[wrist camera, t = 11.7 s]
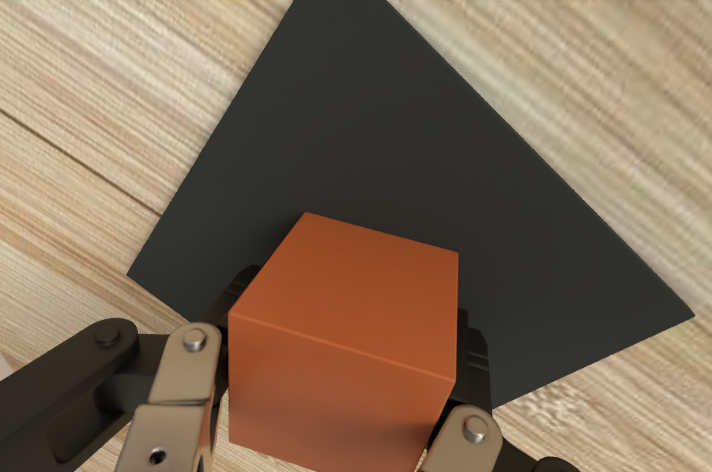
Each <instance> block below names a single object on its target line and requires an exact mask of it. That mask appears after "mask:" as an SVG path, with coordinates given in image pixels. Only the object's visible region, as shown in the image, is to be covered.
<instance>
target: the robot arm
mask: <svg viewBox="0 0 712 472" xmlns="http://www.w3.org/2000/svg"><path fill="white" fill-rule="evenodd" d="M271 256H272V255H270V256H269V258H270V257H271ZM269 258H268V259H267V260H266V262H267V261H268V260H269ZM266 262H265V263H266ZM265 263H264V264H263V265H262V267H263V266H264V265H265ZM262 267H261V266H257V265H254V264H252V265H250V266H249V267H247V268H245V269H243V270H241V271H240V272H239V273H238V274H237V275H236V276H235V278H234V279H233V280H232V282H231V283H230V284H229V285H228V286H227V287H226V288H225V290H224V291H223V292H222V293H221V294H220V295H219V297H218V298H217V299H216V300H215V301H214V303H213V304H212V305H211V306H210V307H209V309H208V310H207V311H206V312H205V313H204V315H203V316H202V317H201V318H200V319H199V320H198V322H192V323H187V324H185V325H182V326H180V327H178V328H177V329H176V330H174V331H173V332H172V333H171V334H168V335H157V334H138V330H137V327H136V325H135V324H134V323H133V322H131V321H129V320H127V319H123V318H109V319H104V320H101V321H98V322H96V323H94V324H92V325H90V326H88V327H87V328H85V329H83V330H82V331H80V332H79V333H77V334H75V335H74V336H72V337H71V338H69V339H67V340H66V341H64V342H63V343H61V344H59V345H58V346H56V347H55V348H53V349H51V350H50V351H48V352H47V353H45V354H43V355H42V356H40V357H39V358H37V359H35V360H34V361H32V362H31V363H29V364H27V365H26V366H24V367H23V368H21V369H19V370H18V371H16V372H15V373H13V374H11V375H10V376H8V377H6V378H5V379H3V380H2V381H0V472H74V471H75V470H76V469H77V468H79V467H80V466H81V465H82V464H83V463H84V462H85V461H86V460H87V459H89V458H90V457H91V456H92V455H93V454H94V453H95V452H96V451H97V450H99V449H100V448H101V447H102V446H103V445H104V444H105V443H106V442H108V441H109V440H110V439H111V438H112V437H113V436H114V435H115V434H116V433H118V432H119V431H120V430H121V429H122V428H123V427H124V426H125V425H126V424H128V423H129V422H130V421H131V420H132V421H131V424H130V427H129V430H128V433H127V436H126V438H125V441H124V444H123V447H122V450H121V452H120V455H119V458H118V461H117V464H116V467H115V469H114V472H212V466H213V458H214V452H215V446H216V439H217V433H218V427H219V421H220V414H221V408H222V401H223V395H224V393H225V392H226V390H227V388H228V312H229V311H230V309H231V308H232V307H233V306H234V304H235V303H236V302H237V300H238V299H239V298H240V296H241V295H242V294H243V292H244V291H245V290H246V288H247V287H248V286H249V284H250V283H251V282H252V281H253V279H254V278H255V277H256V275H257V274H258V273H259V271H260V270H261V269H262ZM425 449H427V455H426V457H425V459H424V460H423V462H422V464H421V466H420V468H419V469H418V471H417V472H580V471H579V470H578V469H577V468H576V467H574V466H573V465H572V464H570V463H569V462H567V461H565V460H563V459H560V458H558V457H550V456H548V457H544V458H542V459H540V460H539V461H536V460H535V459H533V458H531V457H530V456H528V455H527V454H525V453H523V452H522V451H520V450H519V449H517V448H516V447H514V446H513V445H512V444H510V443H509V442H508V441H507V440H506V439H505V438H504V437H503V436H502V433H501V430H500V427H499V425H498V424H497V422H496V421H495V420H494V419H493V416H492V405H491V390H490V375H489V360H488V345H487V342H486V340H485V339H484V337H483V335H482V333H481V331H480V330H477V329H474V328H470V327H468V311H467V310H465V309H462V308H458V307H457V349H456V382H455V384H454V386H453V389H452V391H451V393H450V395H449V397H448V399H447V401H446V404H445V406H444V408H443V410H442V412H441V414H440V417H439V419H438V421H437V423H436V425H435V427H434V429H433V432H432V434H431V436H430V438H429V440H428V442H427V445H426V447H425Z"/></svg>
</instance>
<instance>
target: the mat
mask: <svg viewBox="0 0 712 472" xmlns="http://www.w3.org/2000/svg"><path fill="white" fill-rule="evenodd" d="M304 212H308V213H312V214H316V215H320V216H323V217H327V218H331V219H335V220H338V221H342V222H346V223H350V224H353V225H357V226H361V227H365V228H368V229H372V230H376V231H380V232H383V233H387V234H391V235H395V236H398V237H402V238H406V239H410V240H413V241H417V242H421V243H425V244H429V245H432V246H436V247H440V248H444V249H447V250H451V251H455V252H457V253H458V299H457V307H458V308H462V309H465V310H467V311H468V327H470V328H474V329H477V330H480V331H481V333H482V335H483V337H484V339H485V340H486V342H487V345H488V360H489V375H490V390H491V405H492V409H495V408H497V407H499V406H501V405H503V404H506V403H508V402H510V401H512V400H514V399H516V398H519V397H521V396H523V395H525V394H527V393H530V392H532V391H534V390H536V389H538V388H540V387H543V386H545V385H547V384H549V383H551V382H553V381H556V380H558V379H560V378H562V377H564V376H567V375H569V374H571V373H573V372H575V371H577V370H580V369H582V368H584V367H586V366H588V365H591V364H593V363H595V362H597V361H599V360H601V359H604V358H606V357H608V356H610V355H612V354H615V353H617V352H619V351H621V350H623V349H625V348H628V347H630V346H632V345H634V344H636V343H638V342H641V341H643V340H645V339H647V338H649V337H652V336H654V335H656V334H658V333H660V332H662V331H665V330H667V329H669V328H671V327H673V326H676V325H678V324H680V323H682V322H684V321H686V320H689V319H691V318H693V317H695V314H694V313H693V312H692V310H691V309H690V308H689V307H688V306H687V305H686V304H685V303H684V302H683V300H682V299H681V298H680V297H679V296H678V295H677V294H676V293H675V292H674V291H673V290H672V289H671V288H670V287H669V286H668V285H667V284H666V283H665V282H664V281H663V280H662V279H661V278H660V277H659V276H658V275H657V274H656V273H655V272H654V271H653V270H652V269H651V268H650V267H649V266H648V265H647V264H646V263H645V262H644V261H643V260H642V259H641V258H640V257H639V256H638V255H637V254H636V253H635V252H634V251H633V250H632V249H631V248H630V247H629V246H628V245H627V244H626V243H625V242H624V241H623V240H622V239H621V238H620V237H619V236H618V235H617V234H616V233H615V232H614V231H613V230H612V229H611V227H610V226H609V225H608V224H607V223H606V222H605V221H604V220H603V219H602V218H601V217H600V216H599V215H598V214H597V213H596V212H595V211H594V210H593V209H592V208H591V207H590V206H589V205H588V204H587V203H586V202H585V201H584V200H583V199H582V198H581V197H580V196H579V195H578V194H577V193H576V192H575V191H574V190H573V189H572V188H571V187H570V186H569V185H568V184H567V183H566V182H565V181H564V180H563V179H562V178H561V177H560V176H559V175H558V174H557V173H556V172H555V171H554V170H553V169H552V168H551V167H550V166H549V165H548V164H547V163H546V162H545V161H544V160H543V159H542V158H541V157H540V155H539V154H538V153H537V152H536V151H535V150H534V149H533V148H532V147H531V146H530V145H529V144H528V143H527V142H526V141H525V140H524V139H523V138H522V137H521V136H520V135H519V134H518V133H517V132H516V131H515V130H514V129H513V128H512V127H511V126H510V125H509V124H508V123H507V122H506V121H505V120H504V119H503V118H502V117H501V116H500V115H499V114H498V113H497V112H496V111H495V110H494V109H493V108H492V107H491V106H490V105H489V104H488V103H487V102H486V101H485V100H484V99H483V98H482V97H481V96H480V95H479V94H478V93H477V92H476V91H475V90H474V89H473V88H472V87H471V86H470V85H469V83H468V82H467V81H466V80H465V79H464V78H463V77H462V76H461V75H460V74H459V73H458V72H457V71H456V70H455V69H454V68H453V67H452V66H451V65H450V64H449V63H448V62H447V61H446V60H445V59H444V58H443V57H442V56H441V55H440V54H439V53H438V52H437V51H436V50H435V49H434V48H433V47H432V46H431V45H430V44H429V43H428V42H427V41H426V40H425V39H424V38H423V37H422V36H421V35H420V34H419V33H418V32H417V31H416V30H415V29H414V28H413V27H412V26H411V25H410V24H409V23H408V22H407V21H406V20H405V19H404V18H403V17H402V16H401V15H400V14H399V13H398V11H397V10H396V9H395V8H394V7H393V6H392V5H391V4H390V3H389V2H388V1H387V0H294V1H293V3H292V4H291V6H290V8H289V9H288V11H287V13H286V14H285V16H284V17H283V19H282V21H281V22H280V24H279V26H278V27H277V29H276V30H275V32H274V34H273V35H272V37H271V39H270V40H269V42H268V44H267V45H266V47H265V48H264V50H263V52H262V53H261V55H260V57H259V58H258V60H257V62H256V63H255V65H254V66H253V68H252V70H251V71H250V73H249V75H248V76H247V78H246V80H245V81H244V83H243V84H242V86H241V88H240V89H239V91H238V93H237V94H236V96H235V98H234V99H233V101H232V102H231V104H230V106H229V107H228V109H227V111H226V112H225V114H224V116H223V117H222V119H221V120H220V122H219V124H218V125H217V127H216V129H215V130H214V132H213V133H212V135H211V137H210V138H209V140H208V142H207V143H206V145H205V147H204V148H203V150H202V151H201V153H200V155H199V156H198V158H197V160H196V161H195V163H194V165H193V166H192V168H191V169H190V171H189V173H188V174H187V176H186V178H185V179H184V181H183V183H182V184H181V186H180V187H179V189H178V191H177V192H176V194H175V196H174V197H173V199H172V201H171V202H170V204H169V205H168V207H167V209H166V210H165V212H164V214H163V215H162V217H161V218H160V220H159V222H158V223H157V225H156V227H155V228H154V230H153V232H152V233H151V235H150V236H149V238H148V240H147V241H146V243H145V245H144V246H143V248H142V250H141V251H140V253H139V254H138V256H137V258H136V259H135V261H134V263H133V264H132V266H131V268H130V269H129V271H128V272H127V274H126V275H127V276H128V277H130V278H131V279H132V280H134V281H135V282H136V283H138V284H139V285H140V286H142V287H143V288H144V289H146V290H147V291H148V292H150V293H151V294H153V295H154V296H155V297H157V298H158V299H159V300H161V301H162V302H163V303H165V304H166V305H167V306H169V307H170V308H171V309H173V310H174V311H176V312H177V313H178V314H180V315H181V316H182V317H184V318H185V319H186V320H188V321H189V322H190V323H192V322H198V320H199V319H200V318H201V317H202V316H203V315H204V313H205V312H206V311H207V310H208V309H209V307H210V306H211V305H212V304H213V303H214V301H215V300H216V299H217V298H218V297H219V295H220V294H221V293H222V292H223V291H224V290H225V288H226V287H227V286H228V285H229V284H230V283H231V282H232V280H233V279H234V278H235V276H236V275H237V274H238V273H239V272H240V271H241V270H243V269H245V268H247V267H249V266H250V265H252V264H254V265H257V266H261V267H262V265H263V264H264V263H265V262H266V260H267V259H268V258H269V256H270V255H272V254H273V253H274V252H275V250H276V249H277V248H278V246H279V245H280V244H281V242H282V241H283V240H284V239H285V237H286V236H287V235H288V233H289V232H290V231H291V229H292V228H293V227H294V225H295V224H296V223H297V221H298V220H299V219H300V218H301V216H302V215H303V214H304Z"/></svg>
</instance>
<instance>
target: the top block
mask: <svg viewBox="0 0 712 472" xmlns="http://www.w3.org/2000/svg"><path fill="white" fill-rule="evenodd" d="M457 299H458V253H457V252H455V251H451V250H447V249H444V248H440V247H436V246H432V245H429V244H425V243H421V242H417V241H413V240H410V239H406V238H402V237H398V236H395V235H391V234H387V233H383V232H380V231H376V230H372V229H368V228H365V227H361V226H357V225H353V224H350V223H346V222H342V221H338V220H335V219H331V218H327V217H323V216H320V215H316V214H312V213H308V212H304V214H303V215H302V216H301V218H300V219H299V220H298V221H297V223H296V224H295V225H294V227H293V228H292V229H291V231H290V232H289V233H288V235H287V236H286V237H285V239H284V240H283V241H282V242H281V244H280V245H279V246H278V248H277V249H276V250H275V252H274V253H273V254H272V256H271V257H270V258H269V260H268V261H267V262H266V263H265V265H264V266H263V267H262V269H261V270H260V271H259V273H258V274H257V275H256V277H255V278H254V279H253V281H252V282H251V283H250V284H249V286H248V287H247V288H246V290H245V291H244V292H243V294H242V295H241V296H240V298H239V299H238V300H237V302H236V303H235V304H234V306H233V307H232V308H231V309H230V311H229V312H228V391H229V442H231V443H234V444H237V445H240V446H243V447H246V448H249V449H252V450H255V451H258V452H260V453H263V454H266V455H269V456H272V457H275V458H278V459H281V460H284V461H287V462H290V463H293V464H296V465H299V466H302V467H305V468H308V469H311V470H313V471H316V472H414V470H415V468H416V466H417V464H418V462H419V460H420V457H421V455H422V453H423V451H424V449H425V447H426V445H427V442H428V440H429V438H430V436H431V434H432V432H433V429H434V427H435V425H436V423H437V421H438V419H439V417H440V414H441V412H442V410H443V408H444V406H445V404H446V401H447V399H448V397H449V395H450V393H451V391H452V389H453V386H454V384H455V382H456V349H457Z"/></svg>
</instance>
